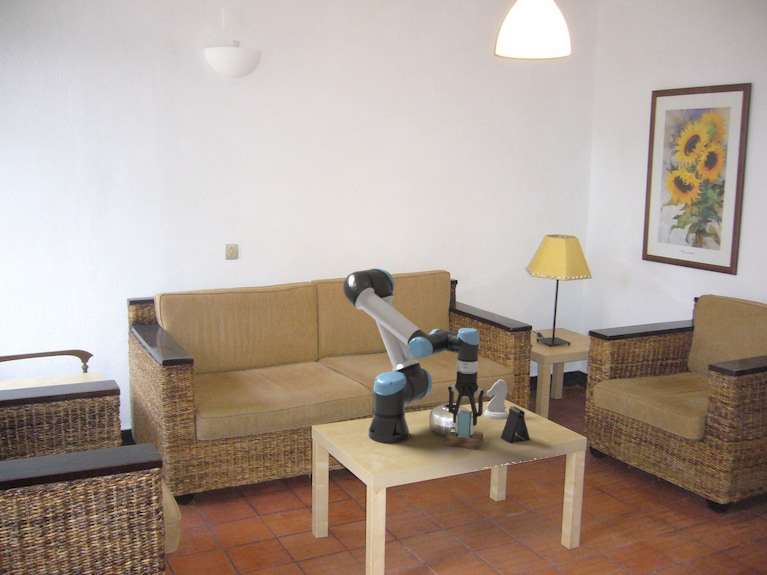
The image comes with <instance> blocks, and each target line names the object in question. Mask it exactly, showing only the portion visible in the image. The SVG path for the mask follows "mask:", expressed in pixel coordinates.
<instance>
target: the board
mask: <svg viewBox="0 0 767 575" xmlns="http://www.w3.org/2000/svg"><path fill="white" fill-rule="evenodd" d="M444 438H445V439H444V446H449V445H450V446H451V447H456V446H457V447H458V448H465V449H471V450H478V449H479V447H481V444H482V443H483V441H484V432H482V431H481V432H480V431H475V430H474V433H473V434H472V435H471V438H464V437H458V433H455V432H450V431H449V432H448V433H447V434H446V436H445V437H444Z"/></svg>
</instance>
